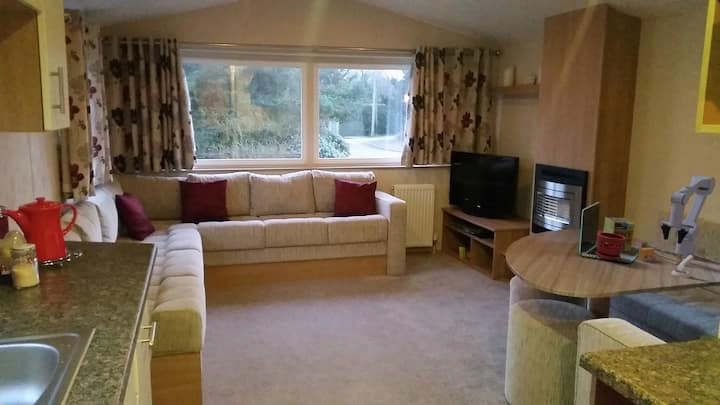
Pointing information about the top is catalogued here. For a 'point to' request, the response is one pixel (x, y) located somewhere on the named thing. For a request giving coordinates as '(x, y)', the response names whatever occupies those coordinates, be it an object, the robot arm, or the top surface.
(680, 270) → the hook
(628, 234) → the protein box
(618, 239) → the plant pot
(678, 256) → the stand
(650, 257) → the block
